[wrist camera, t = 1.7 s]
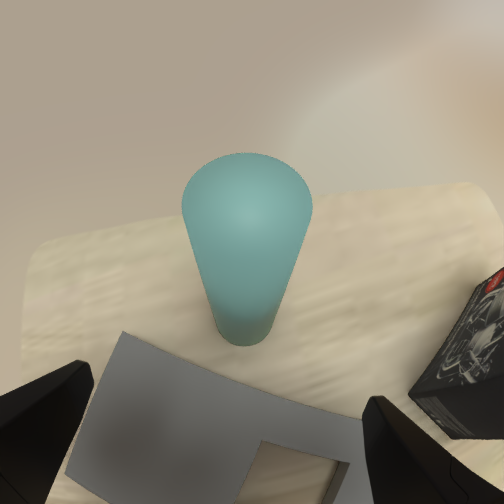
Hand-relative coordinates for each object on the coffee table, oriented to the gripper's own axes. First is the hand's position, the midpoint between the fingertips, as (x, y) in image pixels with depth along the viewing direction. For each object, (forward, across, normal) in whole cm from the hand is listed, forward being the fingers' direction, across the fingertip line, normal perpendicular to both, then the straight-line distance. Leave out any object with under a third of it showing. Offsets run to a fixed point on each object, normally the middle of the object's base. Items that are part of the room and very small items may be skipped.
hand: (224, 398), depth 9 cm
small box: (+11, -20, +7) cm, 23 cm away
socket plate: (+5, 0, +12) cm, 13 cm away
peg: (+13, 0, +4) cm, 13 cm away
